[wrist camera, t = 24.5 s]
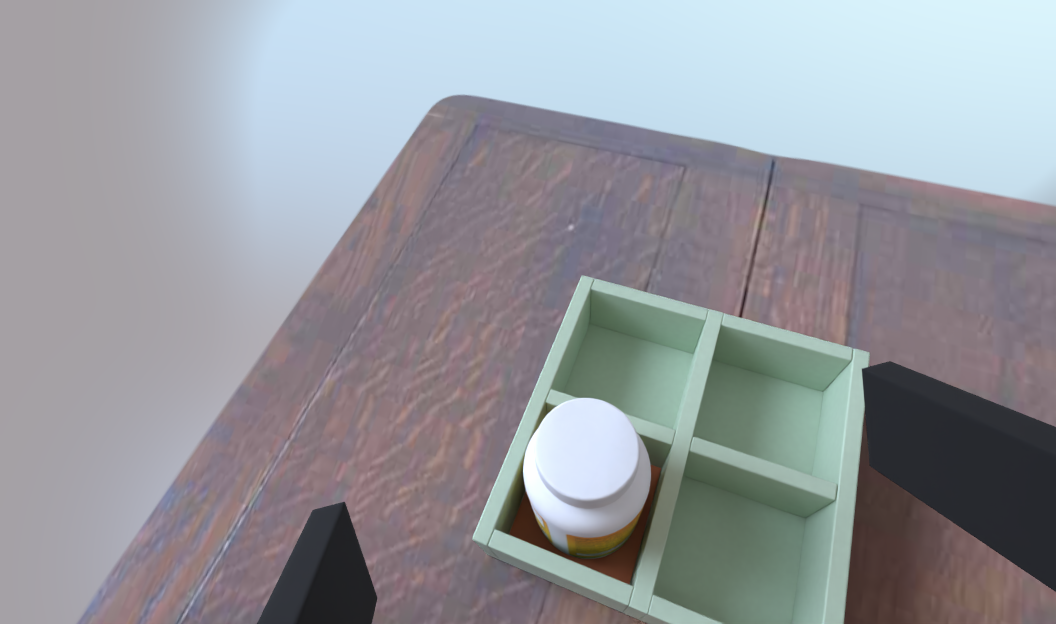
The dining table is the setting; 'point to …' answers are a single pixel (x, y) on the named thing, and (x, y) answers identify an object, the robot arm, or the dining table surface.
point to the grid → (702, 463)
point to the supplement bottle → (587, 477)
